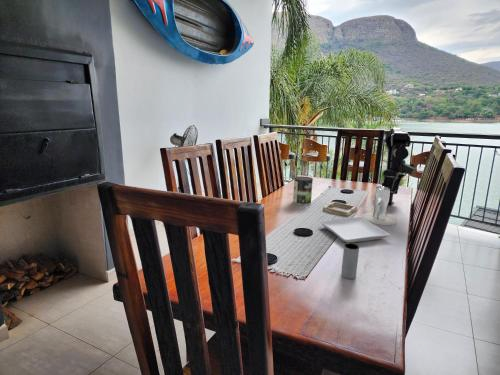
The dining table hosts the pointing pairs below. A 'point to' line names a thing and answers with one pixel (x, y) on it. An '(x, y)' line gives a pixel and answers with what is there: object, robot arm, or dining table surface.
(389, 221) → the white flat disc
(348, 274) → the planter
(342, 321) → the dining table surface
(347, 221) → the salad plate
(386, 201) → the steel cup
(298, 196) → the coffee can
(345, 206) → the beech frame
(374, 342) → the dining table surface
